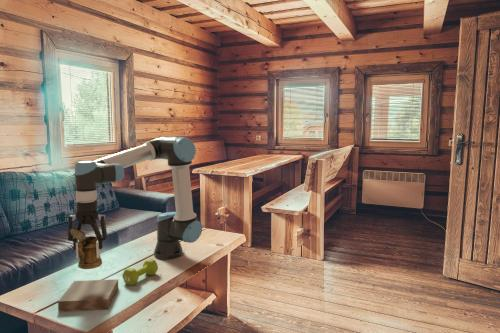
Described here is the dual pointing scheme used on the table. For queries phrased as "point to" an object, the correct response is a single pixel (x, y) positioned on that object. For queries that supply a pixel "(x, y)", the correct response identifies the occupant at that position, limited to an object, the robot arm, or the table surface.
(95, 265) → the wooden mug
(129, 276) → the dumbbell
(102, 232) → the robot arm
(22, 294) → the table surface
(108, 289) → the walnut stand
